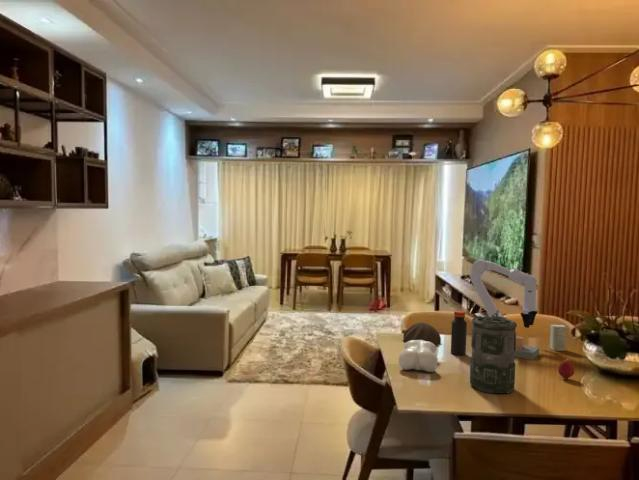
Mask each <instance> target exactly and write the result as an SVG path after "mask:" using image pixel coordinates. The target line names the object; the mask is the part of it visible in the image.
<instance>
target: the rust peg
mask: <svg viewBox="0 0 639 480" xmlns="http://www.w3.org/2000/svg"><path fill="white" fill-rule="evenodd" d="M524 337H525V336H524ZM524 337H523V336H518V335H516V348H517V349H523V346H524V345H525V344H524V343H525V341H524V340H525V338H524Z"/></svg>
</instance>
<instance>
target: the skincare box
mask: <svg viewBox="0 0 639 480" xmlns="http://www.w3.org/2000/svg"><path fill="white" fill-rule="evenodd" d="M549 325H550V327H549V329H550V330H549V332H550V333H549V335H550V336H549V349H550V350H552V351H556V352H557V351H559V352H560V351H561V352H563V351H565V352H566V349H567V348H566V346H567V345H566V344H567V326H566V325H564V324H549Z"/></svg>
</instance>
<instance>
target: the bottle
mask: <svg viewBox="0 0 639 480" xmlns="http://www.w3.org/2000/svg"><path fill="white" fill-rule="evenodd" d="M453 312H454V313H453V317H454V319H453V320H452V321H451V333H450V337H451V338H450V353H451V354H452V355H453V356H459V357H460V356H466V354H467V352H466V351H467V328H468V323H467V321H466V320H465V317H466V311H464V310H454V311H453Z"/></svg>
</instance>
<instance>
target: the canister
mask: <svg viewBox="0 0 639 480" xmlns="http://www.w3.org/2000/svg"><path fill="white" fill-rule="evenodd" d="M494 315H496V316H494ZM471 323H472V328H471V342H470V343H471V344H470V345H471V346H470V347H471V348H472V349H471V356H470V360H469V361H470V363H469V365H470V367H469V384H470V385H471V386H472V387H474V388H475V389H477V390H479V391H480V392H483V393H487V394H509V393H513V391H514V389H515V383H516V382H515V381H516V362H515V357H514V356H515V351H516V336H517V332H516V328H517V326H518V324H517V322H516V321H513V319H512V320H511V319H508V318H506V317H498V313H497V312H496V313H494V314H492V315H491V317H489V316H482V315H479V316H474V317H473V318H472V320H471Z"/></svg>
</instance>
